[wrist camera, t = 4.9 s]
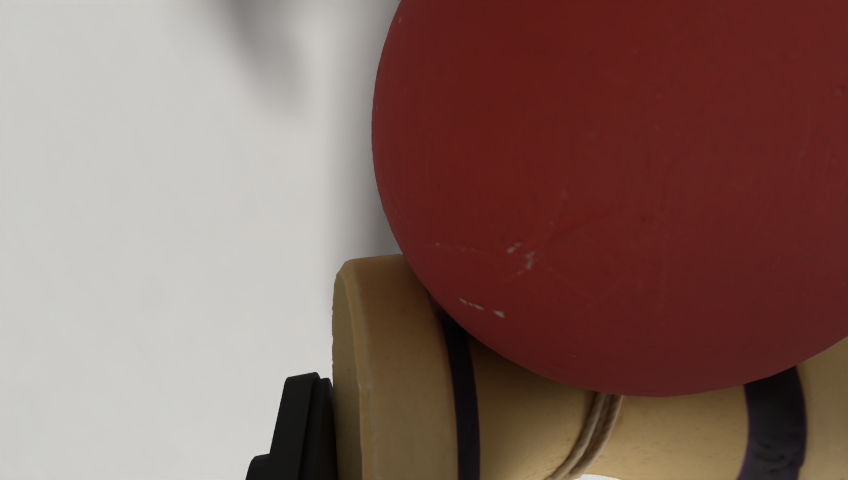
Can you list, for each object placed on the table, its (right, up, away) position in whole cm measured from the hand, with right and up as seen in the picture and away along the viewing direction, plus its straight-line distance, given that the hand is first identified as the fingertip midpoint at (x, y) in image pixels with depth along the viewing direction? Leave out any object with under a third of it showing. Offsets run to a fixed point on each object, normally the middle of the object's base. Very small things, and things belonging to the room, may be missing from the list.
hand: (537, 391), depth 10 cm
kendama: (0, 0, +2) cm, 2 cm away
